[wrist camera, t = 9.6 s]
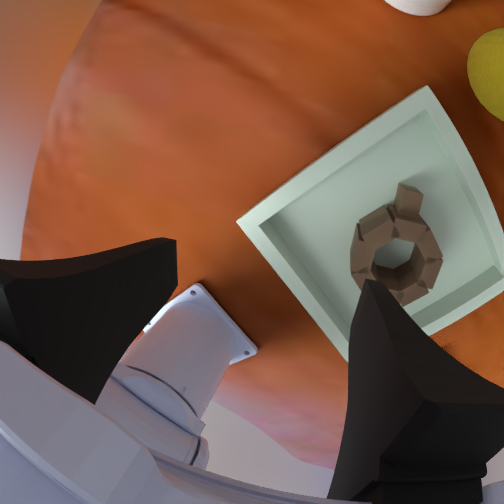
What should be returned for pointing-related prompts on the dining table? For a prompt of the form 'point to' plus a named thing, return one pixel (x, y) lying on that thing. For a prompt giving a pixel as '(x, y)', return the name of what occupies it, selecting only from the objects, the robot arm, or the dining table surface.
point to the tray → (383, 193)
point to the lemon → (488, 71)
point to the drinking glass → (419, 6)
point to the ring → (387, 229)
